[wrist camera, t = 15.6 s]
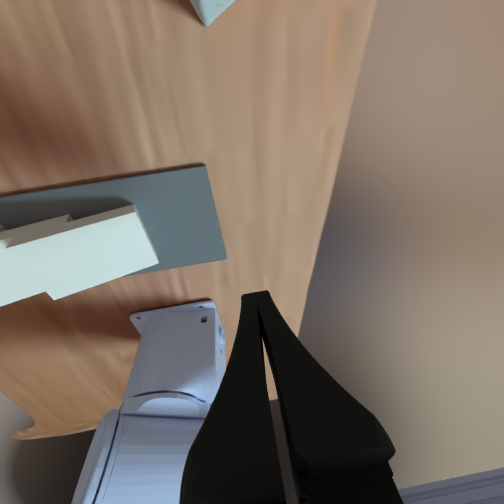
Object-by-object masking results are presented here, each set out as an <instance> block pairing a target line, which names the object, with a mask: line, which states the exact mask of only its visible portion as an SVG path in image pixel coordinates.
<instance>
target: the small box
mask: <svg viewBox="0 0 504 504" xmlns="http://www.w3.org/2000/svg"><path fill="white" fill-rule="evenodd" d="M234 1H235V0H190V2H191V4H192V6H193V7H194V9H195V11H196V13H197V14H198V16H199V18H200V20H201V21H202V23H203V25H204V26H205V27H208V26H209V25H210V24H211V23H212V22H213V21H214V20H215V19H216V18H217V17H218V16H219V15H220V14H221V13H222V12H223V11H224V10H225V9H226V8H227V7H229V6H230V5H231V4H232V3H233V2H234Z"/></svg>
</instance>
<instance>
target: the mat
mask: <svg viewBox="0 0 504 504" xmlns="http://www.w3.org/2000/svg"><path fill="white" fill-rule="evenodd" d="M132 204H134V205H135V207H136V209H137V212H138V214H139V216H140V218H141V220H142V223H143V225H144V227H145V229H146V231H147V234H148V236H149V238H150V240H151V242H152V245H153V247H154V249H155V251H156V253H157V257H158V261H159V263H158V264H155V265H153V266H150V267H147V268H144V269H141V270H139V271H136V272H133V273H130V274H127V275H124V276H129V275H135V274H141V273H147V272H153V271H159V270H165V269H171V268H177V267H183V266H189V265H195V264H201V263H207V262H213V261H219V260H224V259H227V257H226V252H225V248H224V244H223V239H222V235H221V231H220V226H219V222H218V218H217V213H216V209H215V205H214V200H213V196H212V192H211V187H210V183H209V178H208V174H207V170H206V165H200V166H194V167H187V168H181V169H174V170H168V171H161V172H155V173H148V174H142V175H135V176H129V177H122V178H116V179H109V180H103V181H97V182H90V183H84V184H77V185H71V186H64V187H58V188H51V189H45V190H38V191H32V192H25V193H19V194H12V195H6V196H0V226H1V225H3V226H4V227H5V229H6V230H10V229H14V228H18V227H22V226H25V225H29V224H33V223H37V222H41V221H45V220H48V219H52V218H56V217H60V216H64V215H68V214H70V216H71V217H72V219H73V220H77V219H81V218H85V217H88V216H92V215H96V214H99V213H103V212H107V211H110V210H114V209H118V208H121V207H125V206H129V205H132ZM124 276H122V277H124Z"/></svg>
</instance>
